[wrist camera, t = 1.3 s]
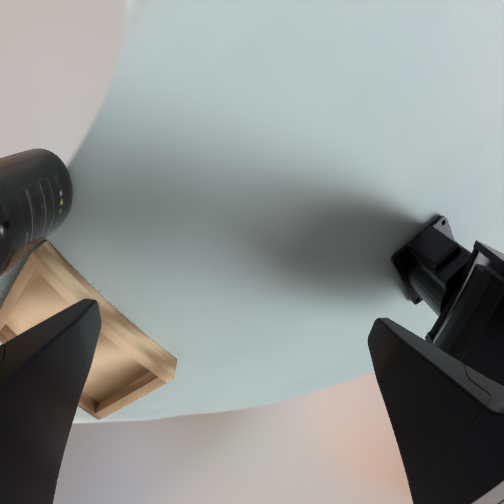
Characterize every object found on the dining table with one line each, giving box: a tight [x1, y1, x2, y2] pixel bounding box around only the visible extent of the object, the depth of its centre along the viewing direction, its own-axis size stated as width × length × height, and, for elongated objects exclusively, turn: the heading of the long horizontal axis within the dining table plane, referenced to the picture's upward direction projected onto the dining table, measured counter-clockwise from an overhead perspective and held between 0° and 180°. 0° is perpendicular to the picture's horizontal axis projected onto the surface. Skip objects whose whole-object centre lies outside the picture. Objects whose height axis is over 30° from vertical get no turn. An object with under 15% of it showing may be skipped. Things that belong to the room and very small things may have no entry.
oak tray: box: [0, 240, 177, 420], centre depth 23 cm, size 16×14×2 cm
